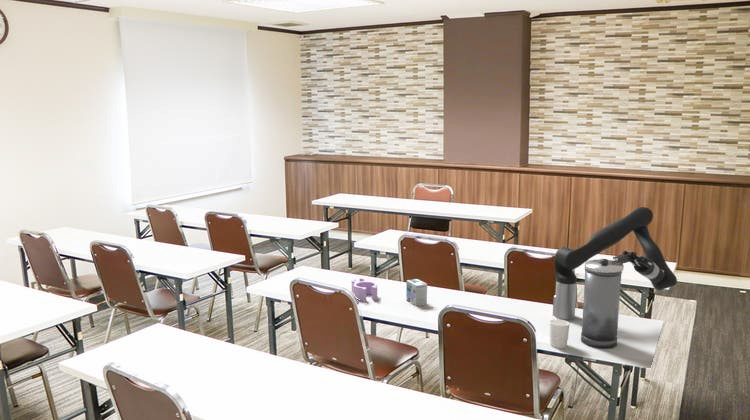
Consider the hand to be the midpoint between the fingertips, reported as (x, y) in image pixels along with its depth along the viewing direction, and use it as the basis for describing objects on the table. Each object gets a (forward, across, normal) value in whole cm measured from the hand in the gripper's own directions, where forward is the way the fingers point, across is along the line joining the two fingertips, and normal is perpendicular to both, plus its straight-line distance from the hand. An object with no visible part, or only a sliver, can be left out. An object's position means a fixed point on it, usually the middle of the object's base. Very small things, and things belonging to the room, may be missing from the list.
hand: (627, 253), depth 255 cm
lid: (+6, 0, +8) cm, 10 cm away
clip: (+38, -109, +64) cm, 133 cm away
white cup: (+10, -7, +48) cm, 50 cm away
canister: (-5, 0, +39) cm, 40 cm away
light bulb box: (+24, -85, +56) cm, 105 cm away
